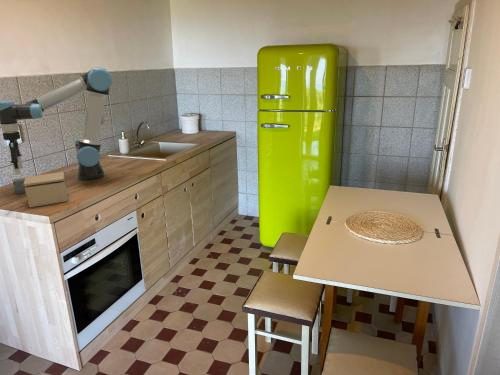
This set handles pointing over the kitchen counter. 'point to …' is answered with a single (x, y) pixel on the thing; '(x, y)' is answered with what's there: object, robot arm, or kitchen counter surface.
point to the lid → (44, 179)
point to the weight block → (19, 185)
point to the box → (46, 193)
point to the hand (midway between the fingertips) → (19, 171)
